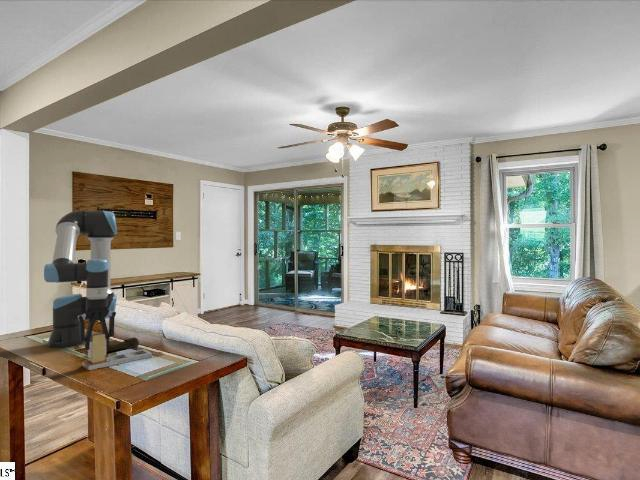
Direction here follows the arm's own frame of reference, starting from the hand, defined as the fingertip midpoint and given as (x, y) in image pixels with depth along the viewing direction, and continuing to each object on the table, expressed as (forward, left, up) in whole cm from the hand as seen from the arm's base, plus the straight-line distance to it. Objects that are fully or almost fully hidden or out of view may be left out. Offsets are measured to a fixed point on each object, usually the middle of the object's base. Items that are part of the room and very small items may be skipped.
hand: (97, 355), depth 149 cm
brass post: (0, 0, -3) cm, 3 cm away
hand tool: (-17, +13, -4) cm, 22 cm away
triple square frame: (0, +8, -4) cm, 9 cm away
